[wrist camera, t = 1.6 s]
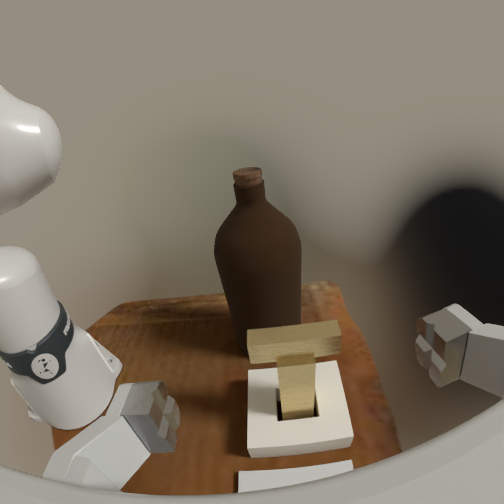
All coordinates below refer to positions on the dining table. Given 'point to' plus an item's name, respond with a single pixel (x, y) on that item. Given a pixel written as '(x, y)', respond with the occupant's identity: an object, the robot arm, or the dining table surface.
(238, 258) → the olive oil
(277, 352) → the t key
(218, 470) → the dining table surface
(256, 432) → the socket block
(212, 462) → the dining table surface
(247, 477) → the white mat
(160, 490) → the dining table surface
